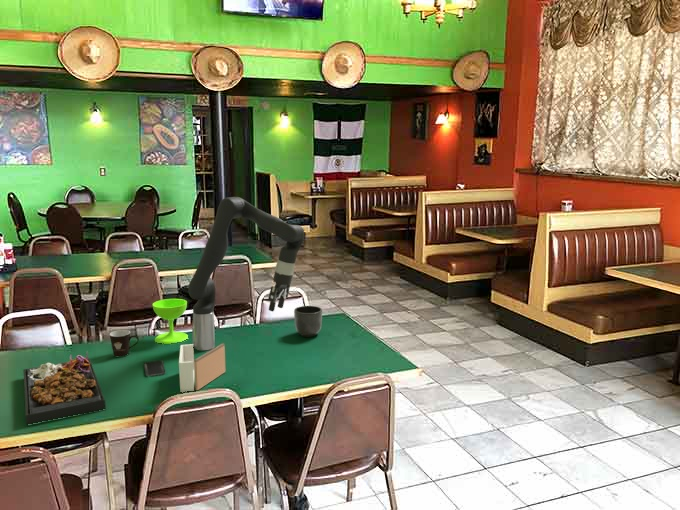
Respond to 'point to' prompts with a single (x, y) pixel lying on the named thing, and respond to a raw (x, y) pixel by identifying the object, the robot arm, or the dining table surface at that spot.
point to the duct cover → (209, 366)
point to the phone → (154, 368)
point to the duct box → (186, 368)
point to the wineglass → (170, 319)
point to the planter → (308, 320)
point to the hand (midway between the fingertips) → (275, 309)
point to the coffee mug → (121, 342)
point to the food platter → (61, 390)
